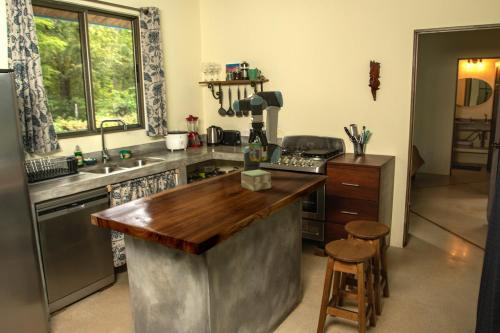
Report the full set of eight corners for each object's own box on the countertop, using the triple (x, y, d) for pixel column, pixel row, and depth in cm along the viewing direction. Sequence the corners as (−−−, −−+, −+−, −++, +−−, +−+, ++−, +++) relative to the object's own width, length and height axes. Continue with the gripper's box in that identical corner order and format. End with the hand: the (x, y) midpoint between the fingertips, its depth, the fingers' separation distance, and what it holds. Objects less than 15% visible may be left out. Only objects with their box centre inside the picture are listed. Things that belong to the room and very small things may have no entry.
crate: (258, 184, 268) (258, 171, 266) (271, 187, 256) (270, 174, 254) (241, 187, 260) (241, 174, 259) (253, 191, 249) (252, 177, 247)
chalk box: (261, 162, 248) (261, 139, 244) (249, 161, 252) (248, 138, 249) (268, 159, 256) (267, 136, 252) (255, 158, 260) (254, 136, 257)
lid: (259, 170, 266) (259, 169, 266) (271, 173, 255) (271, 172, 254) (241, 173, 258) (241, 171, 258) (252, 176, 247) (252, 175, 247)
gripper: (241, 121, 256) (243, 153, 260) (263, 123, 237) (264, 158, 241) (251, 120, 260) (252, 152, 265) (273, 122, 241) (274, 157, 245)
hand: (258, 155), depth 253 cm, fingers closed on chalk box, 11 cm apart
